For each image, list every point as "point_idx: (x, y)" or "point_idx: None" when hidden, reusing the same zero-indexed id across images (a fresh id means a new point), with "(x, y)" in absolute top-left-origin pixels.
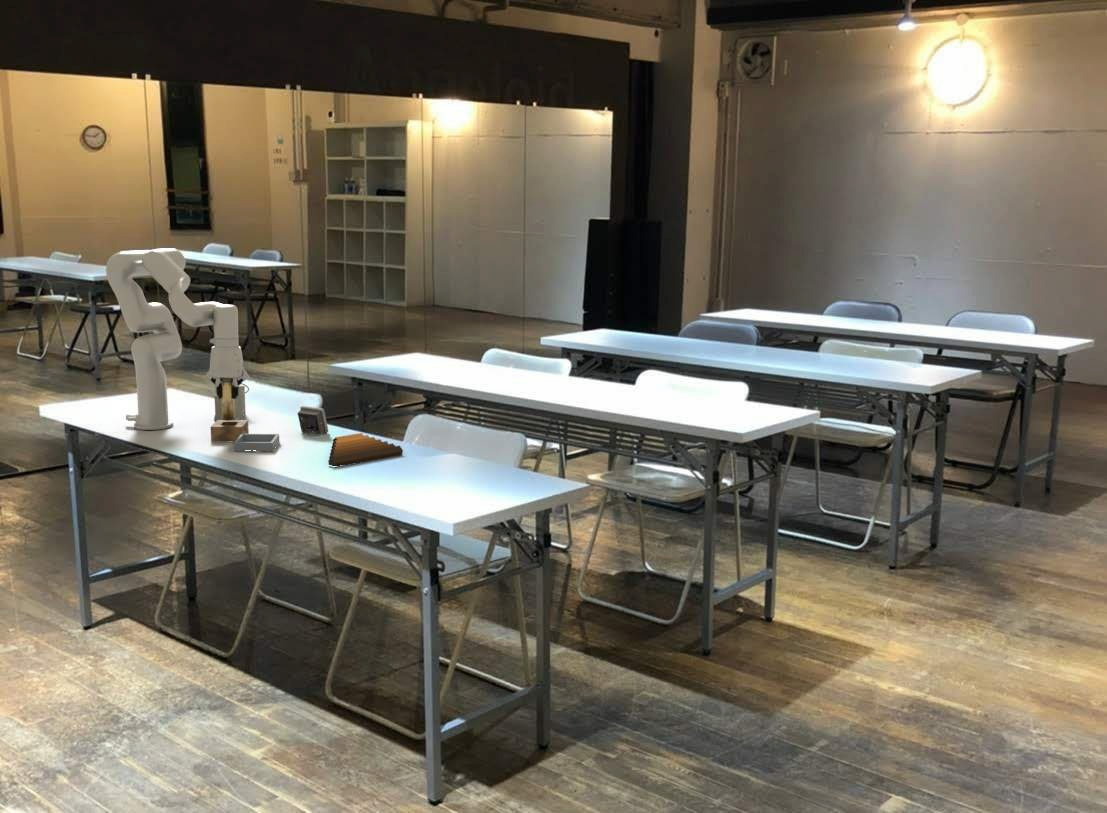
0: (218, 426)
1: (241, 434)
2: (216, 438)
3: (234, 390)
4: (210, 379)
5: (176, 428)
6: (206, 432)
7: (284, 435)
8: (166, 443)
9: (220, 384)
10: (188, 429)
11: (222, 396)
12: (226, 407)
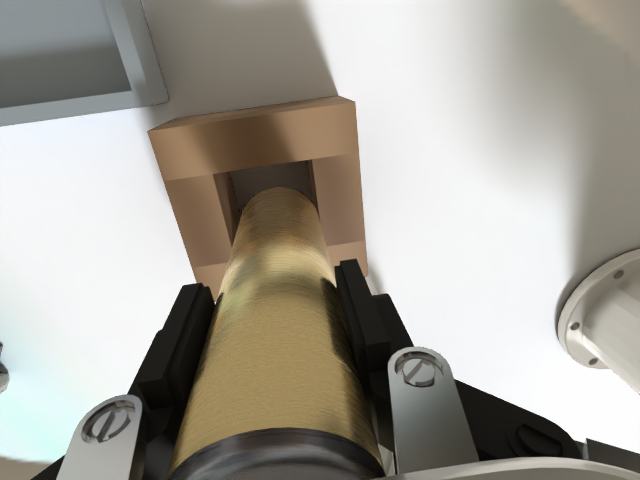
0: (306, 117)
1: (141, 80)
2: (311, 100)
3: (159, 346)
4: (579, 453)
5: (539, 299)
6: (411, 265)
7: (44, 283)
8: (554, 17)
9: (376, 406)
10: (492, 295)
11: (317, 277)
12: (272, 220)
